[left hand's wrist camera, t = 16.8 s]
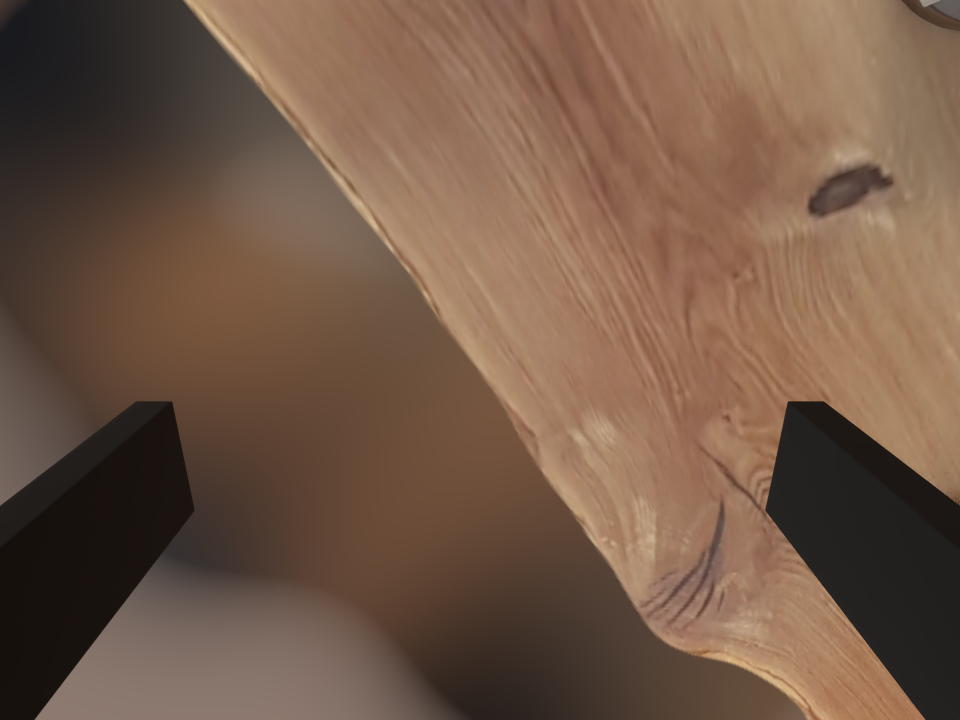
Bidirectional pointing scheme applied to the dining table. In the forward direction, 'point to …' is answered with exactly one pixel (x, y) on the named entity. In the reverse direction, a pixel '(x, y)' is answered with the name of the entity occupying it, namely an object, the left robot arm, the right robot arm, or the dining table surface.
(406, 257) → the dining table surface
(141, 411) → the left robot arm
